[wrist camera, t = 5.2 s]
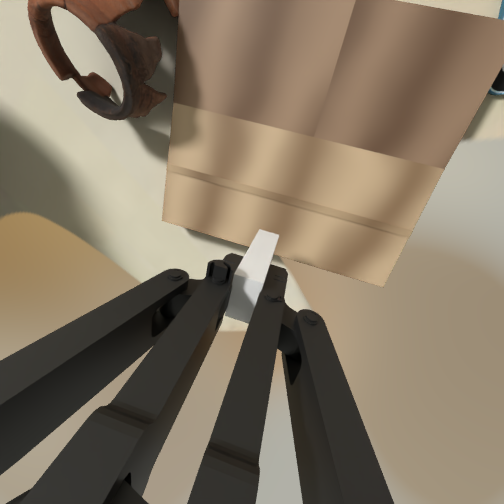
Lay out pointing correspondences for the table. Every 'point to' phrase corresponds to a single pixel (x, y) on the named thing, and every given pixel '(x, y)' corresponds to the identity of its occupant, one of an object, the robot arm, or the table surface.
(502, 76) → the smartphone
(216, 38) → the floor boards
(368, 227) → the plank
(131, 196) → the table surface
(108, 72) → the table surface
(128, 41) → the pottery mug
